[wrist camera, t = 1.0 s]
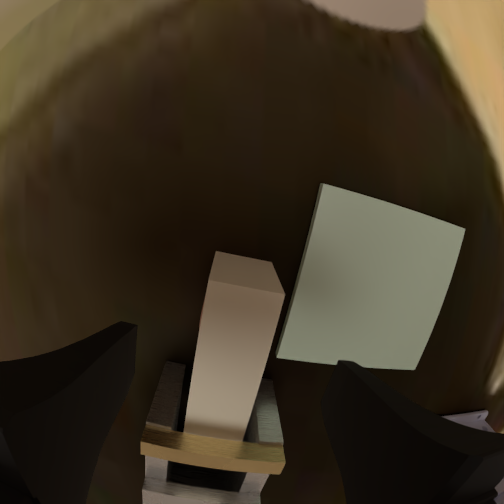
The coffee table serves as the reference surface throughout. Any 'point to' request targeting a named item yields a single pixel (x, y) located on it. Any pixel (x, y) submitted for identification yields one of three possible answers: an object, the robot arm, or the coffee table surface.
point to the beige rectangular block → (232, 345)
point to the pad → (368, 283)
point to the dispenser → (208, 451)
